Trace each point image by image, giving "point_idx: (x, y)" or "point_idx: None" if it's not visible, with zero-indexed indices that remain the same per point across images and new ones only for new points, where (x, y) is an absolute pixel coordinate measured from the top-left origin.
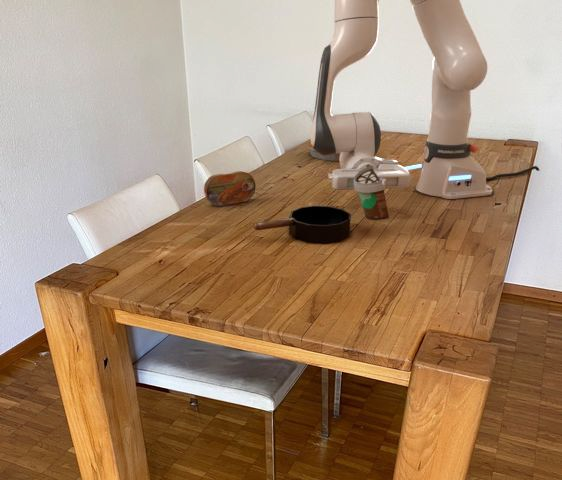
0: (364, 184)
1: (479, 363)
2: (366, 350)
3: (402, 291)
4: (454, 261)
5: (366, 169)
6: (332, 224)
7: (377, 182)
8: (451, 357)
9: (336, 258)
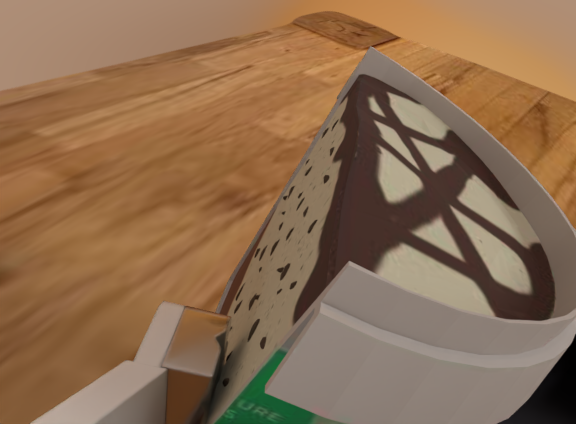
0: (482, 136)
1: (326, 15)
2: (457, 57)
3: None
4: (125, 132)
5: (441, 323)
6: None
7: (399, 68)
8: (353, 26)
9: None
